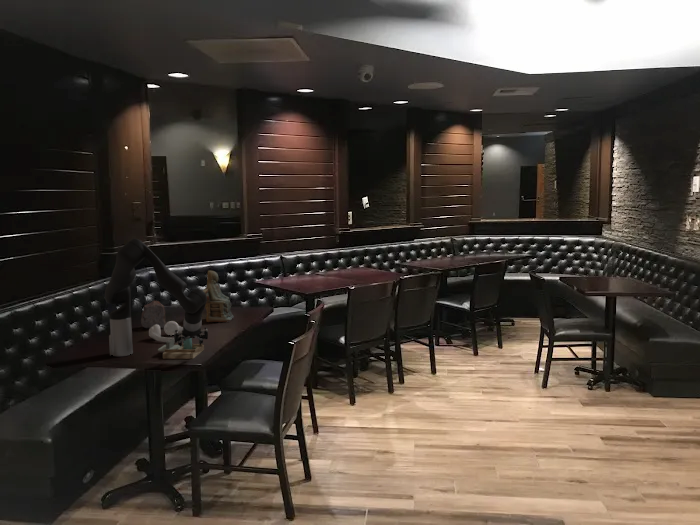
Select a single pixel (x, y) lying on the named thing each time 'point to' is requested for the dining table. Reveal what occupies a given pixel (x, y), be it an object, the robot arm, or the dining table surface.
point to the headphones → (169, 330)
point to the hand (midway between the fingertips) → (190, 343)
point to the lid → (169, 345)
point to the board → (183, 352)
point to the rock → (153, 315)
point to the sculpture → (216, 301)
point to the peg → (188, 344)
